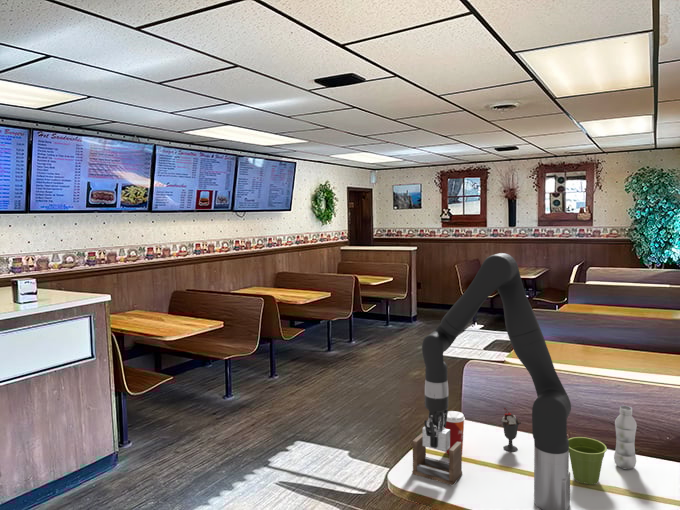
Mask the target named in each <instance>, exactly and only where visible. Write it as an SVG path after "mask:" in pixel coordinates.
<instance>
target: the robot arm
mask: <svg viewBox="0 0 680 510" xmlns="http://www.w3.org/2000/svg"><path fill="white" fill-rule="evenodd" d="M520 273H521V272H520V269H519V266H518V263H517V261H516V260H515V258H514V257H513V256H512V255H510V254H508V253H505V252H504V253H503V252H499V253H495V254H491V255H489V256H488V257H485V260H483V262H482V264H481V266H480V268H479V269H478V271H477V273H476V275H475V276H474V278H473V280H472V281H471V283H470V284H469V286H468V287H467V289H466V290H465V291H464V293H462V294H461V296H460V297H459V298H458V299H457V301H456V302H455V303H454V304H453V305H452V306H451V308H450V309H449V310H448V311H447V312H446V314H444V316H443V317H442V318H441V320H440V324H439V325H438V326H437V327H436V328H435V330H433V332H431V333H429V334H428V335H426V336H425V337H424V338H423V340H422V344H421V352H422V358H423V361H424V366H425V373H424V375H425V378H424V379H425V381H424V408H426V409H427V410H428V417H427V418H428V419H427V420H426V419H425V420H424V423H423V424H424V427H425V429H426V434H427V436H430V446H431V447H433V448H437V435H438V430H439V429H440V427H441V428H445V427H446V422H447V415H448V411H449V383H448V381H449V380H448V377H449V375H448V365H447V363H446V361H444V353H445V352H446V351H447V350H448V349H449V348H450V347H451V346H452V344H453V343H454V342H455V340H456V339H457V337H458V336H459V335H460V334H461V333H462V332H463V331H464V330H465V328H466V327H467V326H468V325H469V324H470V323H471V321H472V320H473V318H474V317H475V315H477V313H478V311H479V309H480V308H481V306H482V305H483V304H484V302H485V301H486V300H487V299H488V297H490V296H491V295H492V293H494V292H495V291H497V292H498V294H499V296H500V299H501V302H502V307H503V314H504V315H503V317H504V324H505V329H506V332H507V336H508V339H509V342H510V345H511V347H512V349H513V351H514V354H515V355H516V357H517V358H518V360H519V362H521V364H522V365H523V366H524V368H525V369H526V371H527V372H528V373H529V375H530V378H531V380H532V383H533V387H534V388H535V392H536V396H537V398H536V399H535V400H534V401H533V404H532V408H531V423H532V424H531V428H532V429H531V430H532V437H533V440H534V445H533V446H534V447H533V448H534V450H533V451H534V452H533V453H534V454H533V455H534V458H533V462H534V463H533V466H534V467H533V471H534V472H533V473H534V474H533V501H534V504H535V505H536V507H538V508H539V509H541V510H568V509H569V507H570V504H571V472H570V471H569V468H570V467H569V465H570V464H569V461H570V455H569V440H568V439H569V438H568V432H567V431H568V430H567V428H568V426H567V425H568V417H569V416H570V413H571V411H572V402H571V399H570V398H569V395H568V393H567V392H566V390H565V387H564V385H563V384H562V381H561V380H560V377H559V376H558V374H557V371H556V369H555V366H554V362H553V360H552V357H551V355H550V352H549V351H550V350H549V349H548V346H547V343H546V340H545V337H544V334H543V332H542V329H541V326H540V325H539V322H538V320H537V318H536V315H535V313H534V310H533V308H532V305H531V303H530V301H529V299H528V297H527V296H528V295H527V294H526V291H525V287H524V284H523V280H522V276H521V274H520ZM435 426H436V427H435ZM434 429H435V431H434Z"/></svg>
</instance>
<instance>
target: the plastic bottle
mask: <svg viewBox="0 0 680 510" xmlns="http://www.w3.org/2000/svg"><path fill="white" fill-rule="evenodd" d="M632 415H633V408H632V407H631V406H629V405H628V406H627V405H620V406H619V415H618V416H617V417H616V418H615V421H614V428H615V438H616V439H615V440H616V441H615V442H616V443H615V444H616V445H615V451H614V454H613V460H614V464H615V465H616V466H617V467H619V468H620V469H623V470H632V469H634V468H635V467H636V464H637V456H636V450H635V446H636V445H635V441H636V440H635V439H636V434H637V428H638V427H637V426H638V424H637V421H636V419H635V417H633V416H632Z"/></svg>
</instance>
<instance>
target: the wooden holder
mask: <svg viewBox="0 0 680 510" xmlns="http://www.w3.org/2000/svg"><path fill="white" fill-rule="evenodd" d="M426 451H427V447H425V446H423V432H421V433H420V434H419V435H418V436H416V437H415V438H414V439H413V440H412V470H411V473H412V475H416V476H418V477H422V478H425V479H429V480H433V481H436V482H439V483H442V484H447V485H449V486H454V485H455V484H456V483H457V482H458V480H459V479H460V478H461V477H462V476H463V470H462V468H463V467H462V466H463V465H462V464H463V462H462V459H463V458H462V455H463V449H462V446H461V442H458V441H457V442H456V443H455V444H454V445H453V446H452V447H451V448H450V449H449V455H448V462H447V461H443V460H439V459H437V458H432V457H429V456H428V457H427V452H426Z"/></svg>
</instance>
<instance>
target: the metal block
mask: <svg viewBox="0 0 680 510" xmlns="http://www.w3.org/2000/svg"><path fill="white" fill-rule="evenodd" d="M434 426H435V425H434ZM435 427H436V426H435ZM434 431H435V429H434ZM422 433H423V446H425V447H426V448H429V449H433V450H437V451H440V452H445V453H446V451H447V450H448V449H449V448H450V430H449V429H445V428H441V427H440V429H439V430H438V435H437V448H433V447H431V446H430V436H427V434H426V429H425V426H423V427H422Z"/></svg>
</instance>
